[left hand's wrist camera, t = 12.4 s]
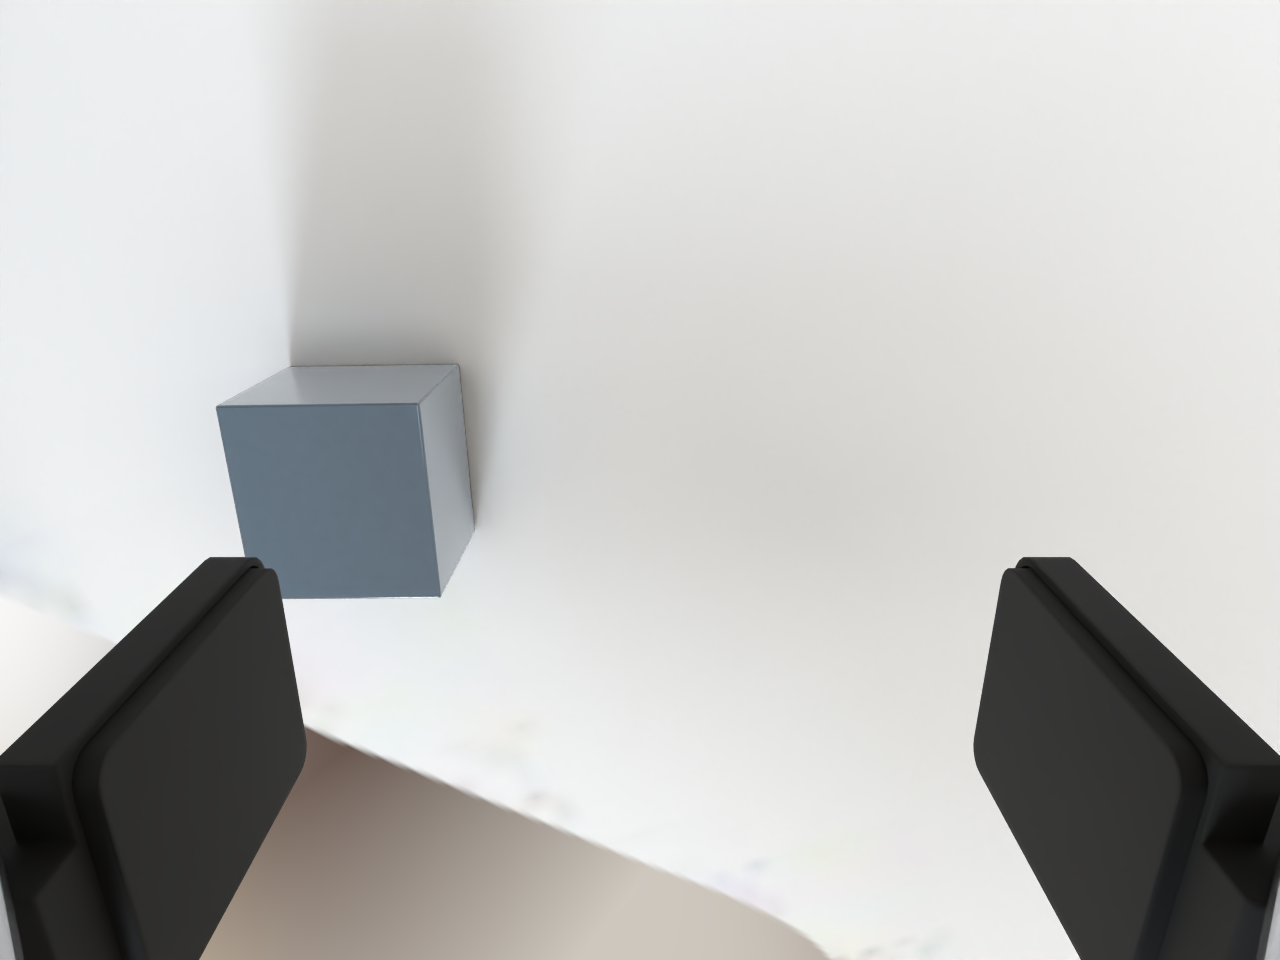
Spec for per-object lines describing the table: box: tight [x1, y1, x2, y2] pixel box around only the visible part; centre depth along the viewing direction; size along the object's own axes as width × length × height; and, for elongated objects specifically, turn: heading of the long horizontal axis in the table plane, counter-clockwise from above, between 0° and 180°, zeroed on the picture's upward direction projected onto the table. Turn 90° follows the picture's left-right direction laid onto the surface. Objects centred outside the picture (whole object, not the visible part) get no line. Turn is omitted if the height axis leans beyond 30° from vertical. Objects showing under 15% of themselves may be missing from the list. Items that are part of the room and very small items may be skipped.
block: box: [216, 364, 475, 599], centre depth 22 cm, size 5×5×4 cm
